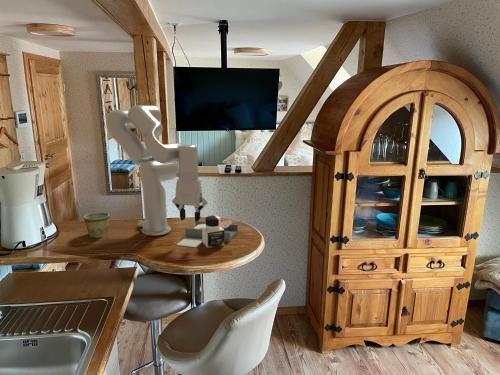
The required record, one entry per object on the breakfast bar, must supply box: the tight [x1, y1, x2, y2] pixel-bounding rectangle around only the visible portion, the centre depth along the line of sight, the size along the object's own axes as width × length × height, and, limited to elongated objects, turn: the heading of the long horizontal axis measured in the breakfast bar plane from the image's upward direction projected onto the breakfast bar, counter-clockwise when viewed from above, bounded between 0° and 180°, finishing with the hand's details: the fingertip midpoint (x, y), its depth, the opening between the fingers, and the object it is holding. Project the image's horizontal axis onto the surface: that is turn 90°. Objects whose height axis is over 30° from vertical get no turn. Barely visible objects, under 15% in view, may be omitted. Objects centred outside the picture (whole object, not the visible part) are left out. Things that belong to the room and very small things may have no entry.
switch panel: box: [184, 220, 239, 243], centre depth 161 cm, size 20×12×5 cm, turn 74°
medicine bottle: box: [202, 214, 225, 249], centre depth 150 cm, size 7×7×12 cm
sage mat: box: [176, 237, 203, 248], centre depth 152 cm, size 8×8×1 cm
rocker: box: [194, 220, 233, 229], centre depth 161 cm, size 16×7×1 cm, turn 74°
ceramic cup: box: [83, 211, 110, 239], centre depth 158 cm, size 13×10×10 cm
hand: (190, 219), depth 150 cm, fingers open, 5 cm apart
